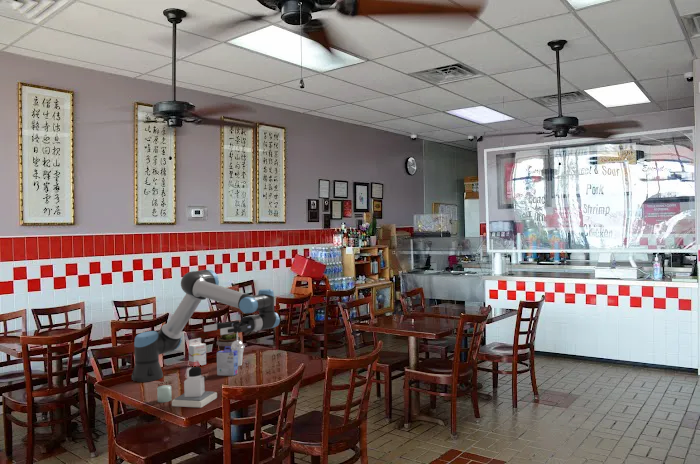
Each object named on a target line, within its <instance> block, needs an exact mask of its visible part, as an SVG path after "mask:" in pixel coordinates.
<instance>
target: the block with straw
mask: <svg viewBox="0 0 700 464" xmlns="http://www.w3.org/2000/svg"><path fill="white" fill-rule="evenodd" d="M236 334H237V340H236V341H234V342H233V343H232V345H231V351H238V367H239V366H243V358H244V357H243V356H244V351H245V349H244V348H246V345H245V344H244V343H243V341H242V342H241V341H239V340H238V337H239V333H238V332H237V333H236Z"/></svg>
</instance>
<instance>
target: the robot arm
mask: <svg viewBox="0 0 700 464" xmlns="http://www.w3.org/2000/svg"><path fill="white" fill-rule="evenodd" d="M219 283H220V280H219V277H218V274H217V272H215V271H213V270H211V269H202V270H195V271H194V270H192V271H188V272H186V273H185V274H184V275H183V276H182V278H181V280H180V286H181V289H182V291H183V293H185V295H184V296H183V298H182V300H181V301H180V303H179V304H178V306H177V308H176V309H175V311H174V312H173V314H172V316H171V317H170V318H169V320H168V322H167V323H164V324H163V325H162V326H161V328H160V329H159V330H158V331H156V330H150V331H143V332H140V333H138V334H136V336H135V337H134V343H133V347H134V367H133V371H132V373H131V381H132V380H133V381H132V382H135V381H137V382H136V383H146V382H153V381H157V380H161V379H162V378H163V377H164V376H163V375H164V371H162V366H161V364H160V358H159V357H160V356H161V355H163V354H166V353H171V352H174V351H175V350H177V349H179V348H180V346H181V344H182V342H183V341H182V337H183V330H184V328H185V326H186V325H187V323H188V322H189V320H190V319H191V317H192V316H193V314H194V313H195V311H196V309H197V308H198V307H199V305H200V303H201V301H204V300H206V299H208V300H212V301H215V302H218V303H220V304H224V305H228V306H230V307H234V308H236V309H239V310H240V311H241V312H242V313H243V314H253V313H256V312H258V313H259V314H255V315H248V316H243V317H241V319H240V320H236V321H227V322H226V321H225V322H215V323H214V324H208V325H203V332H204V333H206V332H212V331H216V332H217V331H218V330H219V332H220V334H219V335H220V336H222V335H224V334H229V335H231V334H237V332H238V334H240V333H241V334H242V333H246V334H247V333H251V332H255V333H257V332H258V331H263V330H269V329H273V328H277V327H278V326H279V325H280V321H281V319H280V316H279V314H278V313H277V312H275V293H274V290H273V289H271V288H264V289H259V290H258V293H257V294H255V295H252V294H251V295H250V294H248V293H247V294H246V293H245V292H241V291H238V290H236V289H235V290H234V289H231V288H228V287H225V286H221V285H220V284H219Z"/></svg>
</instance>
